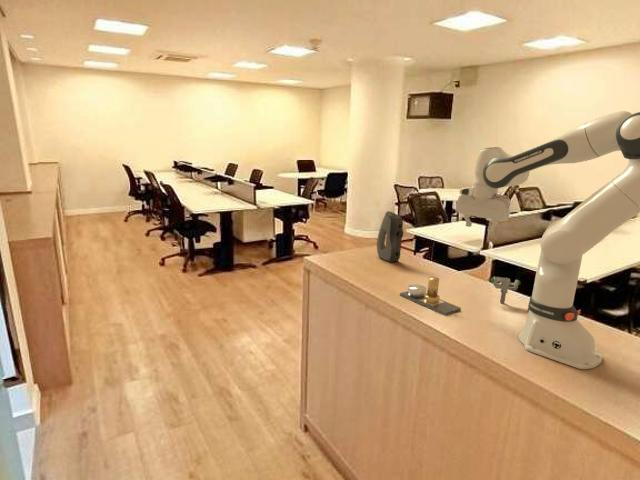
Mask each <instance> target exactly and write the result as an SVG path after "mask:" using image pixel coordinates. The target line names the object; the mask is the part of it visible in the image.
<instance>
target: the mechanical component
mask: <svg viewBox="0 0 640 480" xmlns="http://www.w3.org/2000/svg"><path fill="white" fill-rule="evenodd" d="M511 281H512V280H511V279H510V278H508V277H502V276H501V277H500V276H493V277H491V278H490V282H491V283H492V285H493V287H494V288H495V289H497V290H498V289H500V291H499V292H500V293H501V294H500V298H499V300H500V301H499V302H500V304H502V305H504V304H505V300H506V295H507V294H508V290H509V291H516V290H518V288H519V286H521V281H520V280H518V279H515V280H514V282H511Z"/></svg>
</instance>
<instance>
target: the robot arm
mask: <svg viewBox="0 0 640 480" xmlns="http://www.w3.org/2000/svg"><path fill="white" fill-rule="evenodd" d="M617 151H618V152H619V151H621V154H622V156H623V158H624V159H626V160H627V159H628V164H627V167H626V168H625V169H624V170H623V171H621V173H619V174H618V175H616V176H615V177H614V178H612V179H611V180H610V181H608V182H607V183H606V184H604V185H603V186H601V188H599V189H598V190H597V191H595V192H594V193H592V194H591V195H590V196H588V197H587V198H586V199H584V200H583V201H582V202H581V203H579V205H577V206H576V207H574V209H572V210H571V211H570V212H568V213H567V214H566V215H565V216H564V217H562V218H561V219H557V220H555V221H553V222H551V223H550V224H549V225H548V226H547V227H546V228H545V229H546V230H545V231H544V232H543V234H542V237H541V239H540V249H541V250H540V255H539V260H538V264H537V268H536V272H535V278H534V282H533V283H534V284H533V289H532V293H531V294H532V295H531V296H530V298H529V301H528V305H527V316H526V319H525V323H524V325H523V328H522V330H521V332H520V334H519V335H518V339H519V341H520V342H521V343H522V344H523V346H524V348H525V350H526V351H528V352H530V353H534V354H536V355H539V356H542V357H545V358H548V359H550V360H553V361H557V362H559V363H562V364H565V365H566V366H571V367H573V368H575V369H579V370H589V369H594V368H596V367H597V366H599V365H601V364H602V361H603V355H602V354H601V353H600V352H598V351H596V342H595V338H594V336H593V334H591V332H590V331H588V329H587V328H586V327H585V326H584V325H583V324H582V323H581V322H580V321H579V320H578V318H579V317H578V315H580V314H581V309H578V310H577V309H576V307H575V306H574V301H575V295H576V291H577V284H578V281H579V274H580V270H581V265H582V259H583V255H585V254H586V253H587V252H589V251H590V250H592V248H594V247H595V246H597V244H599V243H600V242H602V241H603V240H604V239H606V237H607V236H609V235H610V234H611V233H612V232H614V231H615V230H617V229H618V228H620V226H622V225H624V224H625V223H626V222H629V220H631V219H633V218H634V217H635V216H637V215H639V214H640V111H639V112H635V113H632V112H629V111H626V110H622V111H621V110H620V111H618V112H613V113H609V114H607V115H602V116H599V117H596V118H594V119H592V120H589V121H587V122H585V123H582V124H580V125H578V126H576V127H574V128H572V129H570V130H568V131H566V132H564V133H563V134H561V135H559V136H557V137H555V138H553V139H551V140H550V141H547V142H545V143H543V144H541V145H538V146H536V147H533V148H531V149H528V150H526V151H524V152H521V153H518V154H515V155H511V154H509V153H507V152H506V151H504V149H503V148H501V147H500V146H499V147H497V146H496V147H495V146H494V147H485V148H483V149H481V150H480V151H479V152H478V154H477V157H476V161H475V165H474V180H473V182H472V186H469V187H465V188H464V187H463V188H461V189H459V196H458V198H457V202H456V207H455V208H456V209H455V210H456V212H457V213H458V214H462V215H463V218H464V220H465V227H472V225H473V222H472V221H471V219H470V217H471V216H473V217H478V218H483V219H488V220H491V225H489V226H488V227H487V232H490V233H494V231H495V227H496V226H497V225H498V223H499V222H503V223H504V222H507V221H508V220H509V219H510V209H511V207H510V206H511V199H510V197H508V195H507V194H506V195H505V194H499V192H498V191H499V189H501V188H507V187H508V188H509V187H516V186H520V185H522V184H524V183H525V182H526V181H527V180H528V178H529V176H530V171H534V170H537V169H539V168H542V167H544V166H549V165H551V166H552V165H561V164H564V165H565V164H576V163H582V162H587V161H591V160H594V159H598V158H600V157H602V156H605V155H609V154H611V153H613V152H617Z"/></svg>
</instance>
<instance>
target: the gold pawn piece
mask: <svg viewBox="0 0 640 480" xmlns="http://www.w3.org/2000/svg"><path fill="white" fill-rule="evenodd" d="M439 285H440V278H439V277H437V276H429V277H428V284H427V289H426V294H425V295H424V301H425V302H428V303H432V304H436V303H439V299H440V295H438V293H439Z"/></svg>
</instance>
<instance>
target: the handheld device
mask: <svg viewBox="0 0 640 480" xmlns="http://www.w3.org/2000/svg"><path fill="white" fill-rule="evenodd" d="M403 227H404V221H403V219H402V217H401V216H400V215H399V214H396V213H395V212H393V211H388V210H387V211H386V212H385V213H384V216H383V218H382V220H381V225H380V227H379V231H378V233H377V234H378V235H377V240H376V250H377V255H378V257H379V258H380V259H381V260H384V261H386V262H388V263H390V264H391V263H392V262H399V260H400V259H401V253H402V252H401V251H402V242H403V241H402V240H403V236H404V231H403V229H404V228H403Z"/></svg>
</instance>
